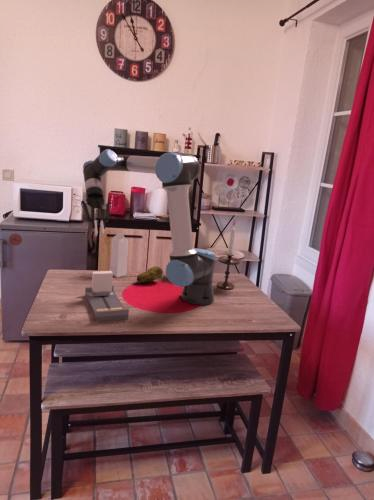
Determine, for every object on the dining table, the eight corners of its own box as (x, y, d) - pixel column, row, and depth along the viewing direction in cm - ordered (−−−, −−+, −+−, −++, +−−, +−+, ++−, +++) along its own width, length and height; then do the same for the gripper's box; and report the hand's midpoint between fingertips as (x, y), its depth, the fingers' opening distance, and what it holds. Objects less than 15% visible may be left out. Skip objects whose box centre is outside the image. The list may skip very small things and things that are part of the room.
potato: (135, 278, 187) (137, 263, 185) (161, 279, 189) (162, 265, 187) (136, 284, 179) (137, 269, 177) (162, 285, 181) (164, 270, 179)
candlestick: (234, 292, 183) (244, 222, 174) (212, 287, 185) (221, 219, 176) (237, 285, 193) (247, 219, 184) (217, 281, 196) (225, 216, 187)
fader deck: (85, 295, 160) (85, 286, 159) (112, 293, 165) (113, 285, 164) (96, 322, 138) (97, 312, 136) (128, 319, 143) (128, 309, 142)
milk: (116, 277, 186) (119, 234, 180) (109, 273, 190) (111, 232, 184) (126, 275, 190) (129, 233, 185) (119, 271, 194) (121, 231, 188)
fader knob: (91, 291, 158) (91, 270, 156) (109, 290, 162) (110, 270, 159) (93, 296, 154) (94, 274, 151) (112, 295, 157) (113, 273, 155)
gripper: (109, 196, 176) (115, 239, 166) (75, 195, 170) (80, 239, 159) (112, 186, 170) (118, 230, 160) (77, 184, 164) (82, 230, 153)
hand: (99, 234), depth 160 cm, fingers open, 2 cm apart
